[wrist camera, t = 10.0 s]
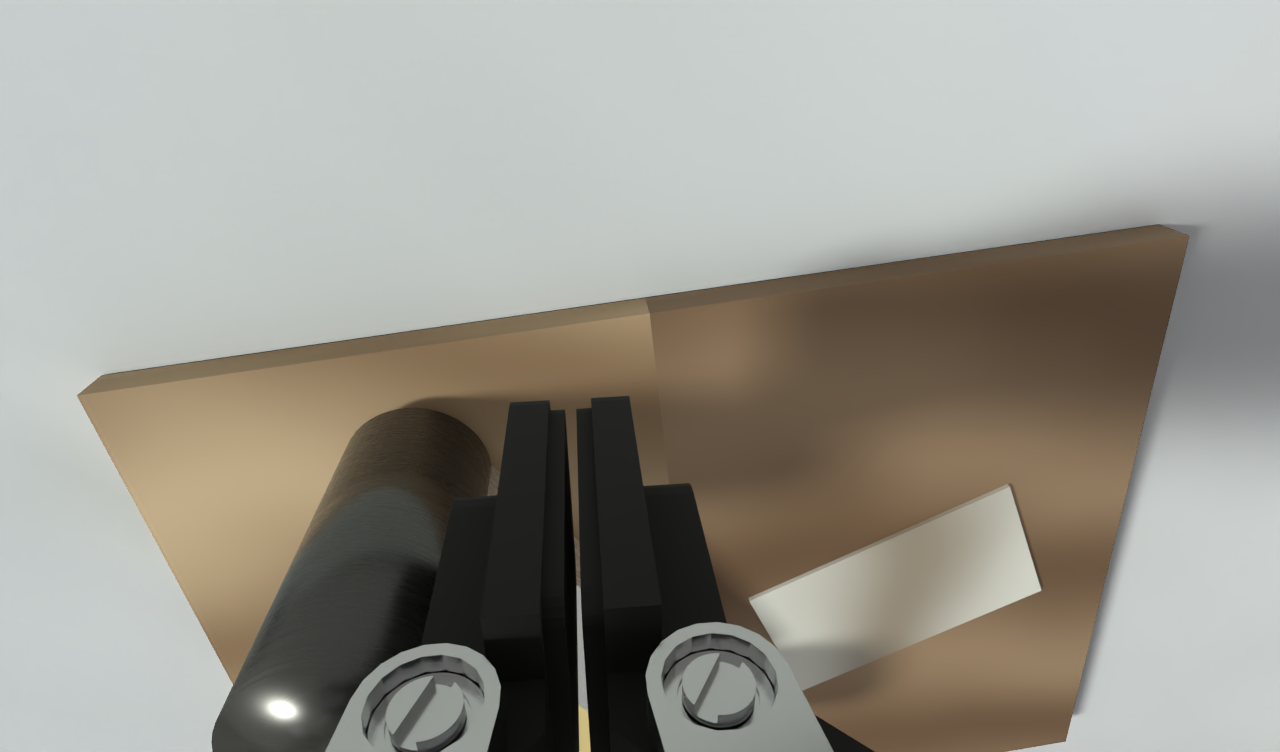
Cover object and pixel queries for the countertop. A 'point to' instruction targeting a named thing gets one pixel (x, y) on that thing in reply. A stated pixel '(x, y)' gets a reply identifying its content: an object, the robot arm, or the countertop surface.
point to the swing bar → (359, 581)
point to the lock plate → (751, 461)
